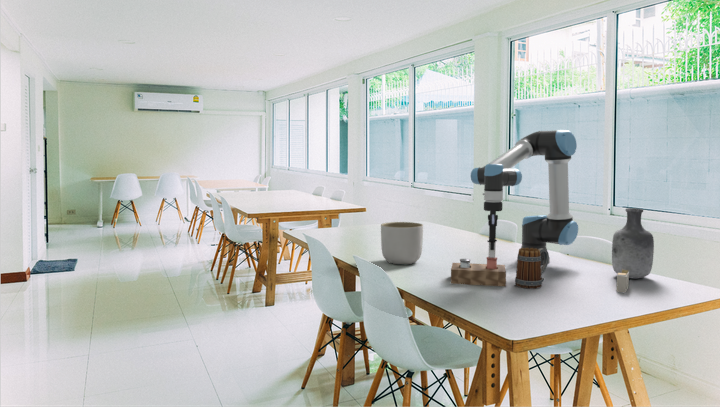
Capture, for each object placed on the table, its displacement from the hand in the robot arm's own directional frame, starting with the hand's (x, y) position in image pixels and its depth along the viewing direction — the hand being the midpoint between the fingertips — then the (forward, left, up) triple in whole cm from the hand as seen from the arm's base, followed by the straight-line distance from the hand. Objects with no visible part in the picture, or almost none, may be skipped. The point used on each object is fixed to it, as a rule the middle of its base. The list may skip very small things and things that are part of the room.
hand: (491, 257), depth 221 cm
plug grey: (+11, 0, -11) cm, 15 cm away
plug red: (0, 0, -9) cm, 9 cm away
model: (-51, +1, -11) cm, 52 cm away
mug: (-17, +2, -11) cm, 20 cm away
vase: (-60, -21, -11) cm, 64 cm away
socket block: (+5, 0, -11) cm, 12 cm away
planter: (+42, -31, -11) cm, 54 cm away
